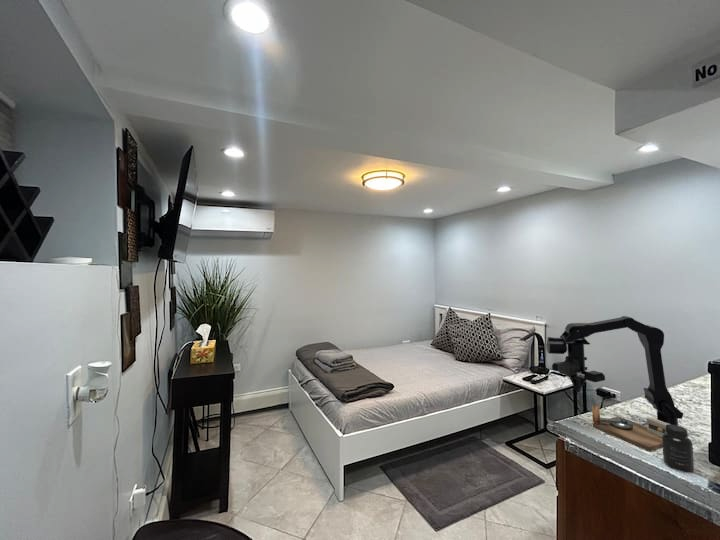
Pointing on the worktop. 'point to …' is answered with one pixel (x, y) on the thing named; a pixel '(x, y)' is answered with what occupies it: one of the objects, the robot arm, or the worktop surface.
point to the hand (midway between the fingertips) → (577, 392)
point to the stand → (638, 433)
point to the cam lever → (613, 421)
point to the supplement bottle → (677, 448)
